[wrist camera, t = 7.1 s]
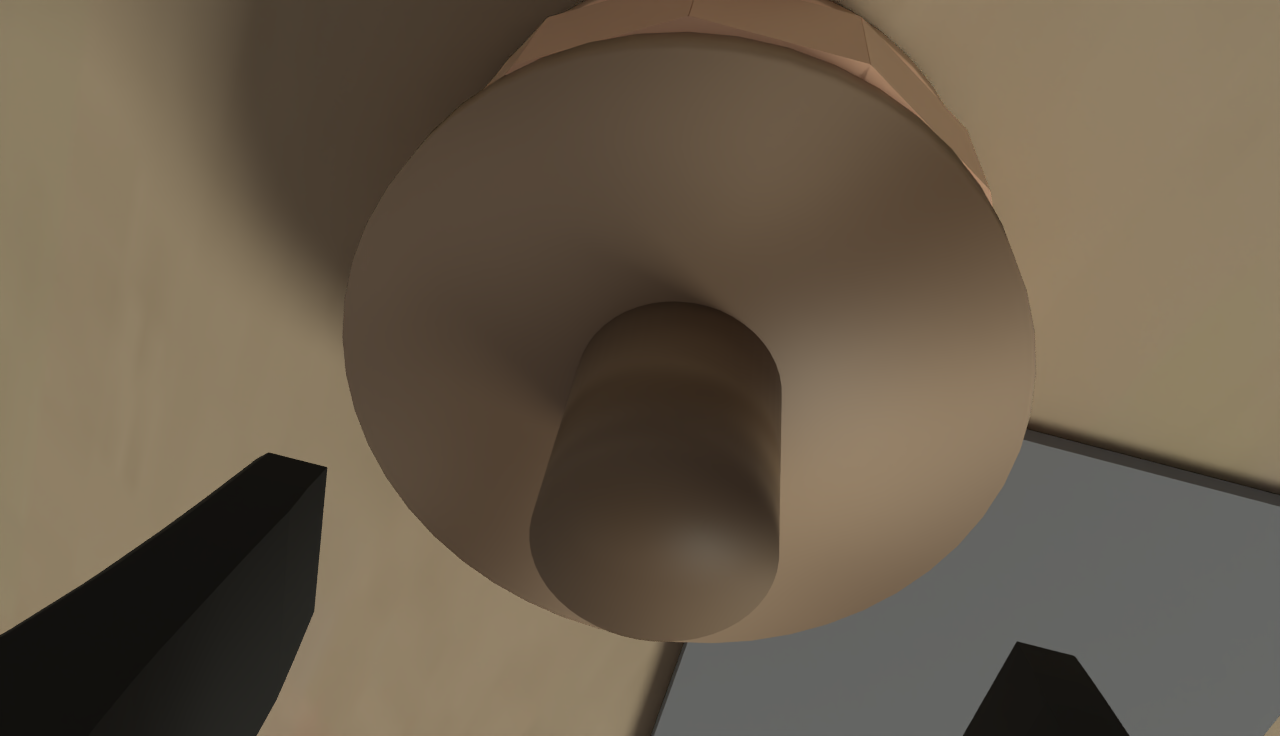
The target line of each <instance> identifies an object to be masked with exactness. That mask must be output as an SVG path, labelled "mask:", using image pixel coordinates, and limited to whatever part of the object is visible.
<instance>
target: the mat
mask: <svg viewBox="0 0 1280 736" xmlns="http://www.w3.org/2000/svg"><path fill="white" fill-rule="evenodd" d="M1017 641H1018V642H1022V643H1026V644H1030V645H1034V646H1038V647H1042V648H1046V649H1050V650H1054V651H1058V652H1061V653H1065V654H1069V655H1073V656H1075V657H1076V658H1077V660H1078V661H1079V662H1080V664H1081V665H1082V667H1083V668H1084V669H1085V671H1086V672H1087V674H1088V675H1089V676H1090V678H1091V679H1092V681H1093V682H1094V684H1095V685H1096V687H1097V688H1098V689H1099V691H1100V692H1101V694H1102V695H1103V697H1104V698H1105V700H1106V701H1107V703H1108V704H1109V706H1110V707H1111V709H1112V710H1113V712H1114V713H1115V715H1116V716H1117V718H1118V719H1119V721H1120V722H1121V724H1122V725H1123V727H1124V728H1125V730H1126V731H1127V733H1128V734H1129V736H1264V734H1265V733H1266V732H1267V731H1268V729H1269V728H1270V727H1271V726H1272V724H1273V723H1274V722H1275V721H1276V719H1277V718H1278V717H1279V716H1280V495H1277V494H1273V493H1269V492H1265V491H1262V490H1258V489H1254V488H1250V487H1246V486H1242V485H1239V484H1235V483H1231V482H1227V481H1223V480H1219V479H1216V478H1212V477H1208V476H1204V475H1200V474H1196V473H1193V472H1189V471H1185V470H1181V469H1177V468H1173V467H1170V466H1166V465H1162V464H1158V463H1154V462H1151V461H1147V460H1143V459H1139V458H1135V457H1131V456H1128V455H1124V454H1120V453H1116V452H1112V451H1108V450H1105V449H1101V448H1097V447H1093V446H1089V445H1085V444H1082V443H1078V442H1074V441H1070V440H1066V439H1063V438H1059V437H1055V436H1051V435H1047V434H1043V433H1040V432H1036V431H1032V430H1028V429H1026V432H1025V435H1024V439H1023V442H1022V446H1021V449H1020V452H1019V454H1018V456H1017V458H1016V460H1015V462H1014V464H1013V467H1012V469H1011V471H1010V473H1009V475H1008V477H1007V480H1006V482H1005V484H1004V486H1003V487H1002V489H1001V490H1000V492H999V493H998V495H997V496H996V498H995V499H994V501H993V502H992V504H991V506H990V507H989V509H988V510H987V512H986V513H985V515H984V516H983V518H982V519H981V520H980V521H979V522H978V523H977V524H976V526H975V527H974V528H973V529H972V530H971V531H970V532H969V534H968V535H967V536H966V537H965V538H964V539H963V540H962V542H961V543H960V544H959V545H958V546H957V547H956V548H955V549H954V550H952V551H951V552H950V553H949V554H948V555H947V556H946V557H944V558H943V559H942V560H941V561H940V562H939V563H938V564H937V565H935V566H934V567H933V568H932V569H931V570H930V571H928V572H927V573H925V574H924V575H922V576H921V577H920V578H918V579H917V580H915V581H914V582H912V583H911V584H909V585H908V586H906V587H905V588H903V589H902V590H900V591H899V592H898V593H896V594H894V595H892V596H890V597H888V598H886V599H884V600H882V601H880V602H878V603H876V604H875V605H873V606H871V607H869V608H867V609H865V610H863V611H860V612H858V613H855V614H853V615H850V616H847V617H845V618H842V619H840V620H837V621H835V622H832V623H830V624H827V625H823V626H819V627H816V628H812V629H808V630H805V631H801V632H797V633H793V634H789V635H783V636H777V637H771V638H765V639H759V640H753V641H739V642H724V643H693V642H684V645H683V648H682V650H681V653H680V656H679V659H678V662H677V664H676V667H675V670H674V673H673V675H672V678H671V681H670V684H669V687H668V689H667V692H666V695H665V698H664V701H663V703H662V706H661V709H660V712H659V715H658V717H657V720H656V723H655V726H654V728H653V731H652V734H651V736H963V734H964V732H965V731H966V729H967V727H968V726H969V724H970V722H971V720H972V719H973V717H974V715H975V713H976V712H977V710H978V708H979V706H980V705H981V703H982V701H983V699H984V698H985V696H986V694H987V692H988V691H989V689H990V687H991V685H992V684H993V682H994V680H995V678H996V677H997V675H998V673H999V671H1000V670H1001V668H1002V666H1003V664H1004V663H1005V661H1006V659H1007V657H1008V656H1009V654H1010V652H1011V650H1012V649H1013V647H1014V645H1015V644H1016V642H1017Z"/></svg>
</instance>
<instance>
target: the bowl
mask: <svg viewBox="0 0 1280 736" xmlns="http://www.w3.org/2000/svg"><path fill="white" fill-rule="evenodd" d="M668 32H697V33H708V34H719V35H730V36H739V37H744V38H748V39H753V40H757V41H762V42H766V43H770V44H775V45H779V46H784V47H788V48H791V49H794V50H796V51H799V52H802V53H804V54H807V55H810V56H812V57H815V58H818V59H821V60H823V61H826V62H829V63H831V64H834V65H836V66H838V67H840V68H842V69H844V70H846V71H848V72H850V73H851V74H853V75H855V76H857V77H859V78H861V79H863V80H865V81H866V82H868V83H870V84H872V85H874V86H876V87H878V88H880V89H881V90H882V91H884V92H885V93H887V94H888V95H889V96H891V97H892V98H893V99H895V100H896V101H898V102H899V103H900V104H902V105H903V106H904V107H906V108H907V109H909V110H910V111H911V112H913V113H914V114H916V115H917V116H918V117H919V118H920V119H922V120H923V121H924V122H925V123H926V124H927V125H928V126H929V127H930V128H931V129H932V130H933V131H934V132H935V133H936V134H937V135H938V136H939V137H940V138H941V139H942V140H943V141H944V142H945V143H946V144H947V145H948V146H949V147H951V148H952V149H953V151H954V152H955V153H956V154H957V156H958V157H959V158H960V160H961V161H962V162H963V164H964V165H965V166H966V167H967V169H968V170H969V171H970V173H971V174H972V175H973V177H974V178H975V179H976V180H977V182H978V183H979V184H980V186H981V187H982V189H983V191H984V193H985V195H986V196H987V198H988V200H989V202H990V204H991V205H992V207H993V204H992V198H991V191H990V189H989V186H988V183H987V181H986V178H985V175H984V173H983V170H982V168H981V165H980V162H979V160H978V157H977V154H976V152H975V149H974V147H973V144H972V141H971V139H970V136H969V134H968V131H967V129H966V128H965V127H964V126H963V125H962V124H961V123H960V122H959V120H958V119H957V118H956V117H955V116H954V115H953V114H952V113H951V112H950V111H949V110H948V109H947V108H946V107H945V106H944V104H943V103H942V101H941V99H940V98H939V96H938V94H937V92H936V91H935V89H934V87H933V86H932V85H931V84H930V82H929V81H928V80H927V79H926V77H925V76H924V75H923V74H922V72H921V71H920V70H919V69H918V67H917V66H916V65H915V64H914V62H913V61H912V60H911V59H910V58H909V57H908V56H907V55H906V54H905V53H904V52H903V51H902V50H901V49H900V48H898V47H897V46H896V45H895V44H894V43H893V42H892V41H891V40H890V39H889V38H888V37H887V36H886V35H884V34H883V33H882V32H881V31H879V30H878V29H876V28H875V27H873V26H872V25H870V24H869V23H868V22H866V21H865V20H864V19H863V18H862V17H861V16H858V15H856V14H855V13H853V12H851V11H850V10H848V9H846V8H844V7H842V6H840V5H838V4H836V3H834V2H832V1H830V0H586V1H584V2H582V3H581V4H579V5H577V6H575V7H573V8H571V9H569V10H567V11H565V12H564V13H561V14H558V15H554V16H551V17H548V18H546V20H545V21H544V22H543V23H542V24H541V25H540V26H539V27H538V28H537V30H536V31H535V32H534V33H533V34H532V35H531V36H530V37H529V39H528V40H527V41H526V42H525V43H524V44H523V45H522V46H521V47H520V48H519V49H518V50H517V51H516V52H515V53H514V54H513V55H512V56H510V57H509V58H508V60H507V61H506V62H505V64H504V65H503V66H502V68H501V69H500V70H499V71H498V73H497V74H496V75H495V77H494V78H493V79H492V80H491V81H490V82H489V83H488V85H487V86H489V85H490V84H492V83H493V82H495V81H496V80H498V79H499V78H501V77H503V76H505V75H507V74H509V73H511V72H513V71H515V70H517V69H519V68H521V67H524V66H526V65H528V64H530V63H532V62H534V61H536V60H538V59H540V58H542V57H545V56H548V55H551V54H554V53H557V52H560V51H564V50H567V49H570V48H573V47H576V46H579V45H582V44H585V43H588V42H594V41H599V40H605V39H611V38H616V37H622V36H628V35H633V34H644V33H668ZM487 86H486V87H487ZM486 87H485V88H486Z"/></svg>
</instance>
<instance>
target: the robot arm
mask: <svg viewBox="0 0 1280 736" xmlns="http://www.w3.org/2000/svg"><path fill="white" fill-rule="evenodd" d="M326 476H327V467H324V466H320V465H316V464H312V463H308V462H304V461H300V460H296V459H292V458H288V457H284V456H280V455H277V454H273V453H267V454H265V455H263V456H261V457H259V458H257V459H256V460H255V461H253V462H252V463H251V464H249V465H248V466H247V467H245V468H244V469H243V470H242V471H240V472H239V473H238V474H236V475H235V476H234V477H232V478H231V479H230V480H228V481H227V482H226V483H224V484H223V485H222V486H221V487H219V488H218V489H217V490H215V491H214V492H213V493H211V494H210V495H209V496H207V497H206V498H205V499H203V500H202V501H201V502H199V503H198V504H197V505H195V506H194V507H193V508H191V509H190V510H188V511H187V512H186V513H184V514H183V515H182V516H180V517H179V518H177V519H176V520H175V521H173V522H172V523H171V524H169V525H168V526H167V527H165V528H164V529H162V530H161V531H160V532H158V533H157V534H155V535H154V536H152V537H151V538H150V539H148V540H147V541H145V542H144V543H142V544H141V545H139V546H138V547H137V548H135V549H134V550H132V551H131V552H129V553H128V554H126V555H125V556H123V557H122V558H121V559H119V560H118V561H116V562H115V563H113V564H112V565H110V566H109V567H108V568H106V569H105V570H103V571H102V572H100V573H99V574H97V575H96V576H94V577H93V578H91V579H90V580H88V581H87V582H85V583H84V584H82V585H81V586H79V587H77V588H76V589H74V590H73V591H71V592H69V593H68V594H66V595H65V596H63V597H61V598H60V599H58V600H57V601H55V602H53V603H52V604H50V605H49V606H47V607H45V608H44V609H42V610H40V611H39V612H37V613H36V614H34V615H32V616H31V617H29V618H28V619H26V620H24V621H23V622H21V623H20V624H18V625H16V626H15V627H13V628H12V629H10V630H8V631H7V632H5V633H3V634H2V635H0V736H256V735H257V734H258V732H259V730H260V728H261V727H262V725H263V723H264V721H265V719H266V718H267V716H268V714H269V712H270V710H271V709H272V707H273V705H274V703H275V702H276V700H277V697H278V695H279V693H280V691H281V688H282V686H283V684H284V681H285V679H286V677H287V674H288V672H289V670H290V668H291V665H292V663H293V661H294V658H295V656H296V654H297V651H298V649H299V646H300V644H301V642H302V639H303V637H304V634H305V632H306V629H307V627H308V625H309V622H310V620H311V617H312V615H313V613H314V607H315V596H316V585H317V574H318V563H319V552H320V541H321V530H322V519H323V508H324V498H325V487H326ZM963 736H1129V734H1128V733H1127V731H1126V730H1125V728H1124V727H1123V725H1122V724H1121V722H1120V721H1119V719H1118V718H1117V716H1116V715H1115V713H1114V712H1113V710H1112V709H1111V707H1110V706H1109V704H1108V703H1107V701H1106V700H1105V698H1104V697H1103V695H1102V694H1101V692H1100V691H1099V689H1098V688H1097V687H1096V685H1095V684H1094V682H1093V681H1092V679H1091V678H1090V676H1089V675H1088V674H1087V672H1086V671H1085V669H1084V668H1083V667H1082V665H1081V664H1080V662H1079V661H1078V660H1077V658H1076V657H1075V656H1073V655H1069V654H1065V653H1061V652H1058V651H1054V650H1050V649H1046V648H1042V647H1038V646H1034V645H1030V644H1026V643H1022V642H1018V641H1017V642H1016V644H1015V645H1014V647H1013V649H1012V650H1011V652H1010V654H1009V656H1008V657H1007V659H1006V661H1005V663H1004V664H1003V666H1002V668H1001V670H1000V671H999V673H998V675H997V677H996V678H995V680H994V682H993V684H992V685H991V687H990V689H989V691H988V692H987V694H986V696H985V698H984V699H983V701H982V703H981V705H980V706H979V708H978V710H977V712H976V713H975V715H974V717H973V719H972V720H971V722H970V724H969V726H968V727H967V729H966V731H965V732H964V734H963Z"/></svg>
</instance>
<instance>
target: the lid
mask: <svg viewBox="0 0 1280 736" xmlns="http://www.w3.org/2000/svg"><path fill="white" fill-rule="evenodd" d="M343 347H344V357H345V368H346V376H347V380H348V384H349V388H350V392H351V396H352V401H353V405H354V409H355V412H356V414H357V417H358V420H359V422H360V425H361V427H362V430H363V432H364V435H365V437H366V440H367V443H368V445H369V447H370V449H371V450H372V452H373V454H374V456H375V458H376V460H377V461H378V463H379V465H380V467H381V469H382V470H383V472H384V474H385V476H386V478H387V479H388V481H389V482H390V483H391V485H392V486H393V487H394V489H395V490H396V492H397V493H398V494H399V496H400V497H401V498H402V500H403V501H404V503H405V504H406V505H407V507H408V508H409V509H410V510H411V511H412V513H413V514H414V515H415V516H416V517H417V518H418V519H419V520H420V521H421V522H422V523H423V525H424V526H425V527H426V528H427V529H428V530H429V531H430V532H431V533H432V534H433V535H434V536H435V537H436V538H437V539H438V540H439V541H440V542H442V543H443V544H444V545H445V546H446V547H447V548H448V549H450V550H451V551H452V552H453V553H454V554H455V555H456V556H458V557H459V558H460V559H461V560H462V561H464V562H465V563H466V564H468V565H469V566H471V567H472V568H473V569H475V570H476V571H478V572H479V573H481V574H482V575H483V576H485V577H486V578H488V579H489V580H491V581H492V582H493V583H495V584H497V585H499V586H501V587H502V588H504V589H506V590H508V591H509V592H511V593H513V594H515V595H517V596H518V597H520V598H522V599H524V600H526V601H527V602H530V603H532V604H534V605H537V606H539V607H541V608H543V609H546V610H548V611H550V612H553V613H555V614H557V615H559V616H562V617H565V618H568V619H571V620H574V621H577V622H580V623H583V624H586V625H589V626H592V627H595V628H598V629H603V630H606V631H609V632H612V633H615V634H618V635H621V636H625V637H629V638H634V639H639V640H647V641H660V642H693V643H724V642H739V641H753V640H759V639H765V638H771V637H777V636H783V635H789V634H793V633H797V632H801V631H805V630H808V629H812V628H816V627H819V626H823V625H827V624H830V623H832V622H835V621H837V620H840V619H842V618H845V617H847V616H850V615H853V614H855V613H858V612H860V611H863V610H865V609H867V608H869V607H871V606H873V605H875V604H876V603H878V602H880V601H882V600H884V599H886V598H888V597H890V596H892V595H894V594H896V593H898V592H899V591H900V590H902V589H903V588H905V587H906V586H908V585H909V584H911V583H912V582H914V581H915V580H917V579H918V578H920V577H921V576H922V575H924V574H925V573H927V572H928V571H930V570H931V569H932V568H933V567H934V566H935V565H937V564H938V563H939V562H940V561H941V560H942V559H943V558H944V557H946V556H947V555H948V554H949V553H950V552H951V551H952V550H954V549H955V548H956V547H957V546H958V545H959V544H960V543H961V542H962V540H963V539H964V538H965V537H966V536H967V535H968V534H969V532H970V531H971V530H972V529H973V528H974V527H975V526H976V524H977V523H978V522H979V521H980V520H981V519H982V518H983V516H984V515H985V513H986V512H987V510H988V509H989V507H990V506H991V504H992V502H993V501H994V499H995V498H996V496H997V495H998V493H999V492H1000V490H1001V489H1002V487H1003V486H1004V484H1005V482H1006V480H1007V477H1008V475H1009V473H1010V471H1011V469H1012V467H1013V464H1014V462H1015V460H1016V458H1017V456H1018V454H1019V452H1020V449H1021V446H1022V442H1023V439H1024V435H1025V432H1026V429H1027V425H1028V422H1029V418H1030V415H1031V410H1032V402H1033V394H1034V386H1035V378H1036V352H1035V330H1034V325H1033V320H1032V315H1031V310H1030V305H1029V300H1028V295H1027V290H1026V287H1025V285H1024V282H1023V279H1022V276H1021V274H1020V271H1019V268H1018V266H1017V263H1016V260H1015V257H1014V255H1013V252H1012V249H1011V247H1010V244H1009V241H1008V239H1007V236H1006V234H1005V231H1004V228H1003V226H1002V223H1001V222H1000V220H999V218H998V216H997V214H996V213H995V211H994V209H993V207H992V205H991V204H990V202H989V200H988V198H987V196H986V195H985V193H984V191H983V189H982V187H981V186H980V184H979V183H978V182H977V180H976V179H975V178H974V177H973V175H972V174H971V173H970V171H969V170H968V169H967V167H966V166H965V165H964V164H963V162H962V161H961V160H960V158H959V157H958V156H957V154H956V153H955V152H954V151H953V149H952V148H951V147H949V146H948V145H947V144H946V143H945V142H944V141H943V140H942V139H941V138H940V137H939V136H938V135H937V134H936V133H935V132H934V131H933V130H932V129H931V128H930V127H929V126H928V125H927V124H926V123H925V122H924V121H923V120H922V119H920V118H919V117H918V116H917V115H916V114H914V113H913V112H911V111H910V110H909V109H907V108H906V107H904V106H903V105H902V104H900V103H899V102H898V101H896V100H895V99H893V98H892V97H891V96H889V95H888V94H887V93H885V92H884V91H882V90H881V89H880V88H878V87H876V86H874V85H872V84H870V83H868V82H866V81H865V80H863V79H861V78H859V77H857V76H855V75H853V74H851V73H850V72H848V71H846V70H844V69H842V68H840V67H838V66H836V65H834V64H831V63H829V62H826V61H823V60H821V59H818V58H815V57H812V56H810V55H807V54H804V53H802V52H799V51H796V50H794V49H791V48H788V47H784V46H779V45H775V44H770V43H766V42H762V41H757V40H753V39H748V38H744V37H739V36H730V35H719V34H708V33H697V32H668V33H644V34H633V35H628V36H622V37H616V38H611V39H605V40H599V41H594V42H588V43H585V44H582V45H579V46H576V47H573V48H570V49H567V50H564V51H560V52H557V53H554V54H551V55H548V56H545V57H542V58H540V59H538V60H536V61H534V62H532V63H530V64H528V65H526V66H524V67H521V68H519V69H517V70H515V71H513V72H511V73H509V74H507V75H505V76H503V77H501V78H499V79H498V80H496V81H495V82H493V83H492V84H490V85H489V86H487V87H486V88H484V89H483V90H482V91H480V92H479V93H477V94H476V95H474V96H473V97H471V98H470V99H468V100H467V101H465V102H464V103H463V104H461V105H460V106H459V107H458V108H457V109H456V110H455V111H454V112H453V113H452V114H451V115H449V116H448V117H447V118H446V119H445V120H444V121H443V122H442V123H441V124H440V125H439V126H437V127H436V128H435V129H434V130H433V131H432V132H431V133H430V134H429V136H428V137H427V138H426V139H425V141H424V142H423V143H422V144H421V146H420V147H419V148H418V149H417V151H416V152H415V153H414V154H413V155H412V157H411V158H410V159H409V160H408V162H407V163H406V164H405V165H404V167H403V168H402V169H401V170H400V172H399V173H398V174H397V176H396V177H395V178H394V179H393V181H392V182H391V183H390V184H389V186H388V187H387V189H386V191H385V192H384V194H383V196H382V198H381V199H380V201H379V203H378V204H377V206H376V208H375V210H374V211H373V213H372V215H371V217H370V218H369V220H368V222H367V224H366V227H365V229H364V232H363V235H362V237H361V240H360V242H359V245H358V248H357V250H356V253H355V255H354V258H353V261H352V266H351V271H350V275H349V280H348V285H347V289H346V294H345V301H344V319H343Z"/></svg>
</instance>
